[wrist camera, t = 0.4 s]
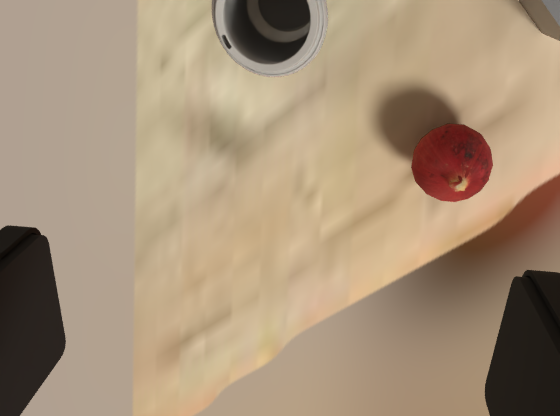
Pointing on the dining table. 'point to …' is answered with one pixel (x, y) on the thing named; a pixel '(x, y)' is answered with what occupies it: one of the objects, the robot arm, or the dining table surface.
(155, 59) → the dining table surface
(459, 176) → the onion
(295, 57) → the cup
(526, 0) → the switch box
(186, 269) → the dining table surface
